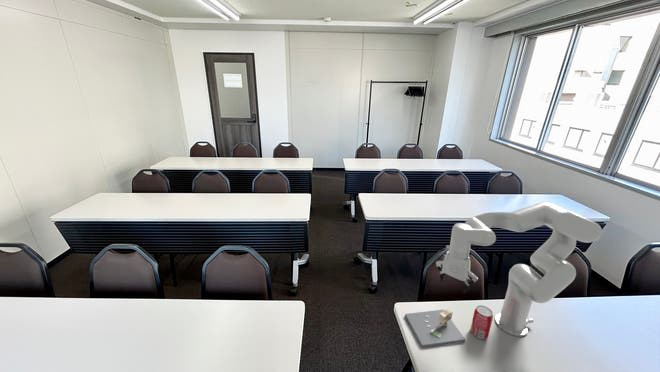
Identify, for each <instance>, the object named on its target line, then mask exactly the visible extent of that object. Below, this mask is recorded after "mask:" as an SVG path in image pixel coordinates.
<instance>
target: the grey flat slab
mask: <svg viewBox="0 0 660 372" xmlns="http://www.w3.org/2000/svg"><path fill="white" fill-rule="evenodd" d="M443 311H444V309H437V310H435V309H434V310H428V311H427V310H426V311H418V312H411V313H405V314H404V317H405V319H406V321H407V323H408V324H409V326H410V329H411V331H412V332H413V334H414V336H415V337H416V339H417V342H418V343H419V345H420V347H421V348H422V349H423V348H430V347H438V346H443V345H444V346H445V345H451V344H458V343H466V338H465V336H464V335H463V334H462V332H461V331H460V329H459V328H458V327H457V326H456V324H455V323H454V322H453V321H452V318H451V319H450V320H449V321H448V322H447V323H448V325H447V326H441V327H440V328H438V329H437V330H435V331H434V332H431V330H433V329H434V328H436V327H437V326H439V325H440V324H441V322H440V321H439V315H440V313H441V312H443Z"/></svg>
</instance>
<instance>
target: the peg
mask: <svg viewBox="0 0 660 372" xmlns="http://www.w3.org/2000/svg"><path fill="white" fill-rule="evenodd" d="M443 310H444V309H443ZM452 317H453V311H452V310H451V309H449V308H446V309H445V310H444V311H443V312H441V313H440V315H439V321H440V322H441V324H440V325H439V326H437V327H436V328H434V329H433V330H431V332H434V331H435V330H437V329H438V328H440V327H441V326H447V325H448V323H447V322H448V321H449V320H450V319H451V320H452Z"/></svg>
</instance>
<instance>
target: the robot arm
mask: <svg viewBox="0 0 660 372" xmlns="http://www.w3.org/2000/svg"><path fill="white" fill-rule="evenodd" d="M543 226H546V227H548V228H549V229H551V230H552V233H551V235H550V237H549V238H548V239H547V240H546V241H545V242H544V243H543V244H542V245H541V246H540V247H539V248H537V250H535V251H534V252H533V253H532V254H531V255H530V259H529V260H530V263H531V264H532V265H533V266H534V267H535V268H536V269H537V270H538V271H540V272H541V273H542V274H543V276H541V274H539V273H538V272H537V271H536V270H535V269H534V268H532V267H531V266H529V265H528V264H525V263H517V264H514V265H513V266H512V267H511V268H510V269H509V272H508V285H507V290H506V292H505V298H504V300H503V303H502V304H503V305H502V308H501V312H500V313H498V314H495V317H494V321H495V324H496V325H497V326H498V327H499V328H500V329H501V330H502V331H503V332H505V333H506V334H509V335H511V336H515V337H524V336H526V335H528V334H527V333H528V332H529V330H528V327H527V325H528V324H533V323H534V319H533V318H531V317H530V318H528V316H529V313H530V310H531V307H532V304H533V302H535V303H538V304H545V303H548V302H549V301H551V300H552V299H554V298H555V297H557V295H559V294H560V293H561V292H562V291H563V290H565V289H566V288H567V287H568V286H569V285H570V284H571V283H573V281H574V280H575V278H576V276H577V269H576V267H575V266H574V265H573V264H572V263H570V262H569V261H568V260H566V259H567V258H568V257H569V256H570V255H571V254H572V253H573V251H574V250H575V249H576V246H577V241H578V242H581V243H593V242H596V241H598V240H599V239H600V238H601V237H602V234H603V229H602V227H601V226H600V224H598V222H596V221H593V220H591V219H589V218H586V217H585V216H583V215H581V214H579V213H577V212H574V211H572V210H569V209H565V208H563V207H561V206H559V205H557V204H554V203H552V202H548V201H542V202H538V203H535V204H532V205H528V206H526V207H522V208H520V209H517V210H513V211H510V212H509V211H508V212H507V211H502V212H501V211H500V212H499V211H498V212H497V211H495V212H494V211H493V212H484V213H481V214H478V215H475V216H473V217H470V218H468V219H467V220H465V223H462V222H457V223H455V224H454V225H452V229H451V234H450V244H449V245H448V244H447V245H445V248H446V249H447V251H446V253H445V256H444V259H443V260H437V261H436V262H435V264H436V268H437V269H438V271H439V274H440V275H439V279H440V283H443V282H444V281H445V279H446V275H448V276H450V277H452V278H454V279H457V280H459V281H462V282H464V284H463V289H462V292H463V293H464V294H465V293H466V292H467V291H469V289H470V285H474V284H475V283H476V282H477V281H478V280H479V277H478V276H477V275H476V274H474V272H472V271H471V257H470V250H471V245H475V246H482V247H488V246H491V245H493V244H494V243H495V242H496V241H497V237H496V234H495V232H494V231H493V230H492V229H491V228H500V229H504V230H508V231H512V232H518V233H523V232H526V231H530V230H534V229H535V228H538V227H543ZM470 277H471V279H470Z"/></svg>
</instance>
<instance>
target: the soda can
mask: <svg viewBox="0 0 660 372" xmlns="http://www.w3.org/2000/svg"><path fill="white" fill-rule="evenodd" d="M493 319H494V315H493V310H492V309H490V308H489V307H488V306H485V305H480V304H479V305H477V306H476V308H475V309H474V311H473V316H472V320H471V325H470V331H471V333H472V335H473V336H474V337H476V338H477V339H479V340H485V339H488V337H489V335H490V332H491V331H490V330H491V327H492V324H493Z"/></svg>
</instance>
